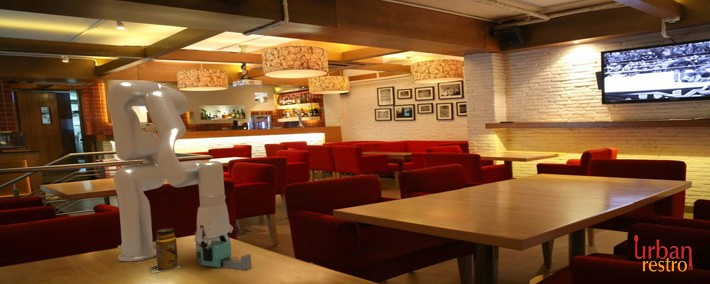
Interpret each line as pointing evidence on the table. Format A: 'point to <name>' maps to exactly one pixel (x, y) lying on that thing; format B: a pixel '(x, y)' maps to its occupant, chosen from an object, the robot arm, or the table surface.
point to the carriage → (217, 253)
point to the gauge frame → (206, 242)
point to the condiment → (166, 251)
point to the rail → (232, 262)
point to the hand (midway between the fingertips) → (216, 257)
